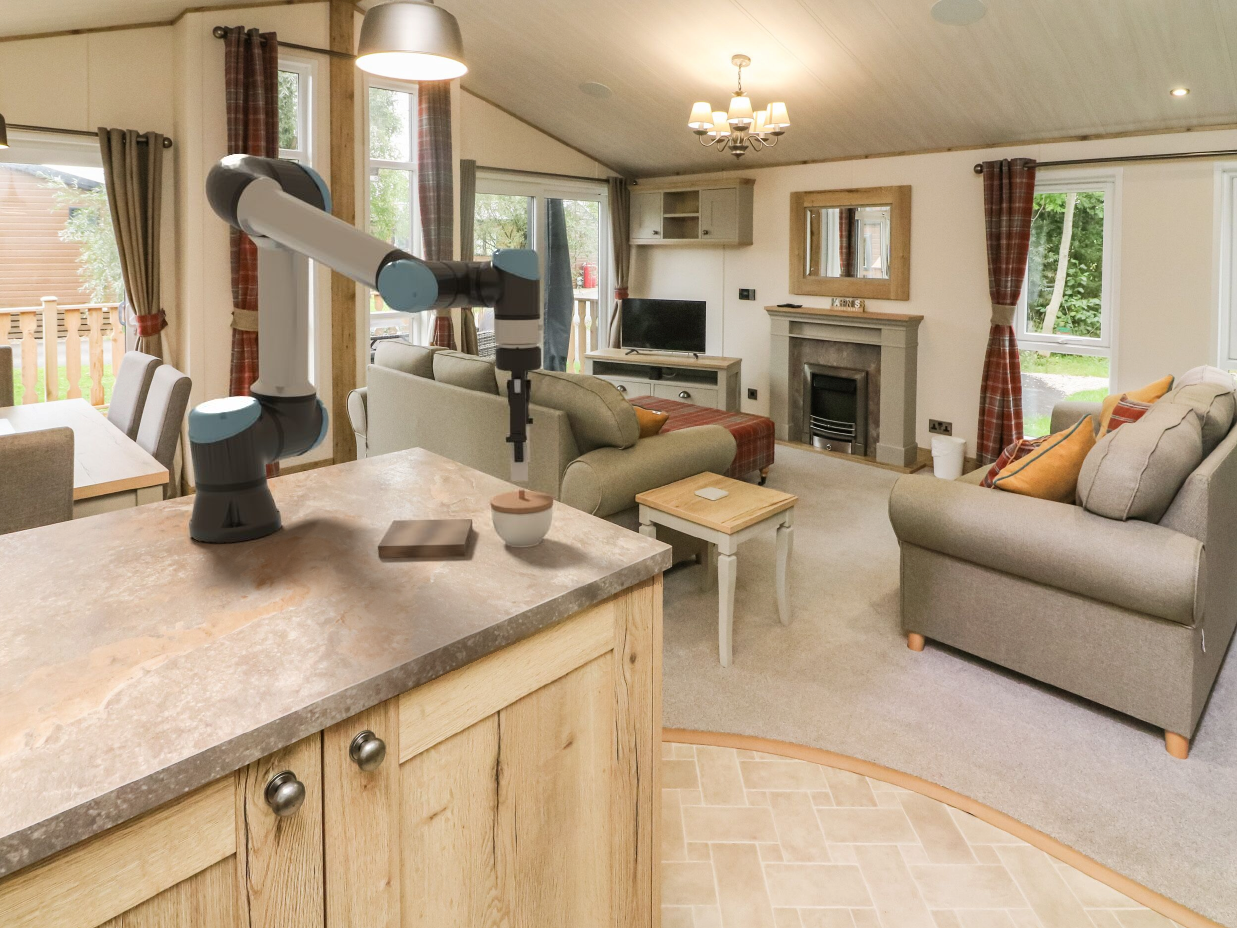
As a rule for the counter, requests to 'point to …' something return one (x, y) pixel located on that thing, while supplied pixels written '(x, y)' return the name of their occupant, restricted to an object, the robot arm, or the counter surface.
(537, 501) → the lidded jar
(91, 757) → the counter surface
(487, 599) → the counter surface
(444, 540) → the walnut board
